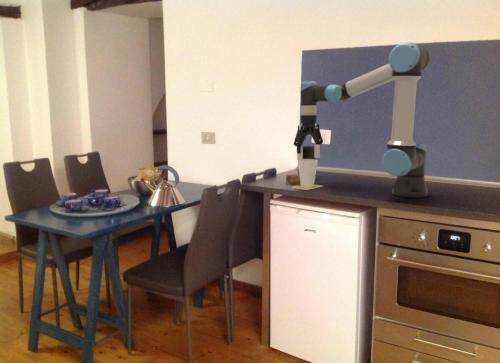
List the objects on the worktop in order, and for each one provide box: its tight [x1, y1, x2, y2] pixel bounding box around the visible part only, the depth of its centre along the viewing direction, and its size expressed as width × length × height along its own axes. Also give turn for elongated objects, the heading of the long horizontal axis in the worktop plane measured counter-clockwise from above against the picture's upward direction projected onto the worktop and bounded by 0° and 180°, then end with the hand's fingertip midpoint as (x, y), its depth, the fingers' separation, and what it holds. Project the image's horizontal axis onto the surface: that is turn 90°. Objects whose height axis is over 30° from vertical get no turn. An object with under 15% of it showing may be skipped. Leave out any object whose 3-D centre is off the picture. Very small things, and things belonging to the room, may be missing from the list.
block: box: [285, 173, 301, 187], centre depth 233 cm, size 5×5×5 cm
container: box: [301, 145, 317, 182], centre depth 245 cm, size 9×9×18 cm
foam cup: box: [297, 159, 319, 188], centre depth 226 cm, size 10×9×13 cm
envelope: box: [290, 184, 324, 191], centre depth 227 cm, size 10×14×1 cm
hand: (308, 159), depth 225 cm, fingers open, 13 cm apart
